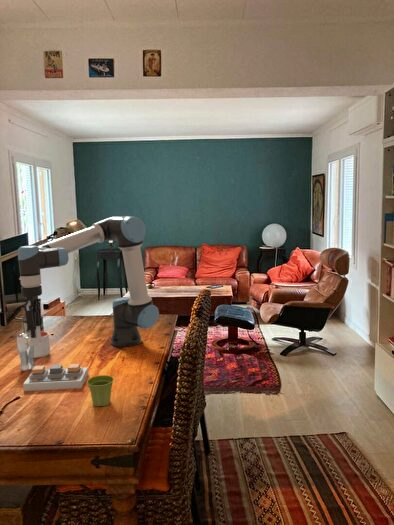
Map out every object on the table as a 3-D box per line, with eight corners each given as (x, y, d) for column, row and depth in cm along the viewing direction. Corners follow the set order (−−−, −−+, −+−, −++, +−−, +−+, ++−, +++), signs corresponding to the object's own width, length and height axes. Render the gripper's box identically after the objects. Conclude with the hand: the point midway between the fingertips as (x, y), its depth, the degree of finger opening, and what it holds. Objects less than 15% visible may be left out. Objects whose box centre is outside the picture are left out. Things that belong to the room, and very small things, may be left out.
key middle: (62, 368, 181) (62, 364, 181) (60, 372, 177) (59, 368, 177) (52, 368, 181) (52, 364, 181) (50, 372, 177) (49, 368, 177)
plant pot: (103, 395, 167) (102, 372, 165) (120, 401, 161) (119, 378, 159) (83, 404, 159) (81, 381, 158) (99, 411, 154) (98, 387, 152)
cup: (43, 359, 207) (41, 338, 205) (23, 358, 209) (21, 337, 207) (54, 351, 216) (52, 332, 215) (35, 351, 218) (33, 331, 217)
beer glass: (20, 372, 191) (17, 338, 189) (18, 367, 197) (15, 334, 195) (37, 369, 194) (34, 336, 192) (35, 364, 200) (32, 332, 198)
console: (88, 374, 187) (87, 363, 187) (81, 388, 173) (80, 377, 173) (34, 376, 186) (34, 366, 185) (23, 391, 172) (22, 380, 172)
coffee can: (44, 340, 234) (42, 314, 232) (45, 346, 225) (43, 319, 223) (24, 343, 231) (21, 316, 229) (23, 349, 221) (21, 321, 219)
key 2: (80, 367, 181) (79, 363, 181) (78, 371, 178) (77, 367, 177) (70, 367, 181) (69, 364, 181) (67, 371, 177) (67, 367, 177)
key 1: (45, 369, 181) (44, 365, 181) (42, 372, 177) (42, 369, 177) (35, 369, 181) (34, 365, 180) (32, 373, 177) (31, 369, 176)
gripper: (28, 282, 181) (32, 337, 185) (14, 290, 166) (19, 351, 169) (46, 281, 182) (51, 337, 185) (34, 289, 166) (40, 350, 169)
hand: (36, 343), depth 177 cm, fingers open, 3 cm apart
